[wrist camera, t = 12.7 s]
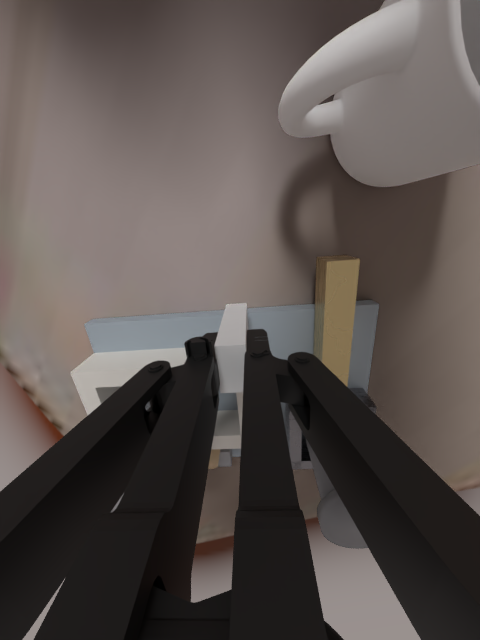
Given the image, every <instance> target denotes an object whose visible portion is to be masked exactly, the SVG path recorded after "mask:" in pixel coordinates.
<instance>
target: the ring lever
mask: <svg viewBox="0 0 480 640" xmlns="http://www.w3.org/2000/svg"><path fill="white" fill-rule="evenodd" d="M359 264H360V259H358V258H355V257H351V256H348V255H336V256H324V257H317V260H316V290H315V320H314V351H313V355H314V356H316V357H317V358H318V359H319V360H320V361H321V362H322V363H323V364H324V365H325V366H326V367H327V368H328V369H329V370H330V371H331V372H332V373H333V374H334V375H335V376H336V377H337V378H338V379H340V380H341V381H342V382H343V383H344V384H345V385H346V386H348V376H349V366H350V356H351V346H352V335H353V325H354V315H355V305H356V295H357V285H358V275H359ZM349 389H350V390H351V391H352V392H353V393H354V394H355V395H356V396H357V397H358V398H359V399H360V400H361V401H362V402H363V403H364V404H365V405H366V406H367V407H368V408H369V409H370V410H371V411H372V412H373V413H374V414H375V413H376V406H375V404H374V403H373V401H372V400H371V399H370V397H369V396H368V394H367V393H366V391H365V390H364V389H363V388H349ZM285 410H286V436H287V442H288V447H289V453H290V459H291V464H292V469H313V467H312V463H311V459H310V455H309V451H308V448H307V444H306V440H305V439H302V430H301V429H300V427H299V425H298V423H297V422H296V420H295V418H294V416H293V415H292V413H291V411H290V409H289V406H288V404H287V403H285Z"/></svg>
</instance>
